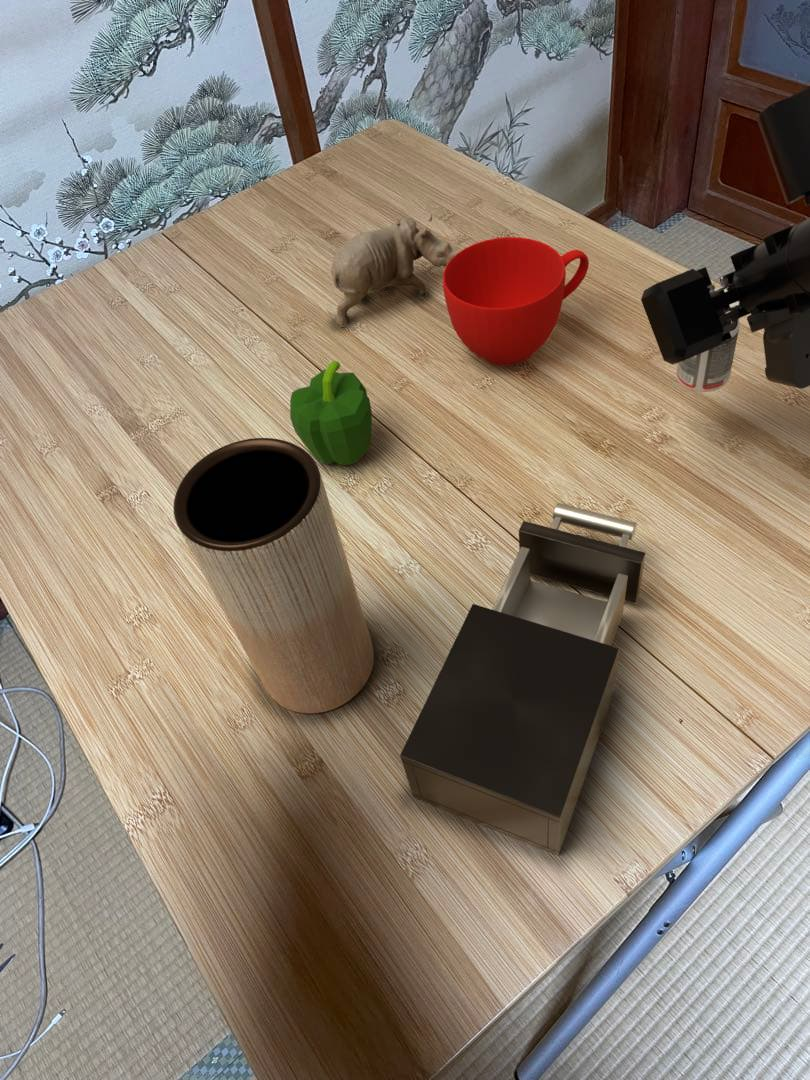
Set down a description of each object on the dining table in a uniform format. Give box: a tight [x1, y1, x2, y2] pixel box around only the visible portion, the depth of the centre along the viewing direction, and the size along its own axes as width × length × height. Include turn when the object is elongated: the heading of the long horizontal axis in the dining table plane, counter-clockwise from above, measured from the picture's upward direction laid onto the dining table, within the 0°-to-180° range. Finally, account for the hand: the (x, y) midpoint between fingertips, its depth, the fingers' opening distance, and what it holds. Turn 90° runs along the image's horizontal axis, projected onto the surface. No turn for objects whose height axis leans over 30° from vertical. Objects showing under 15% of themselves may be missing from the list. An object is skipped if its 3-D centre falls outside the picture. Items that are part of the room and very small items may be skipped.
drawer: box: [492, 502, 646, 646], centre depth 69 cm, size 17×10×6 cm, turn 155°
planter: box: [172, 437, 375, 714], centre depth 64 cm, size 10×10×23 cm
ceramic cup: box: [442, 236, 590, 367], centre depth 92 cm, size 13×17×10 cm
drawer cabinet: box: [399, 603, 620, 856], centre depth 63 cm, size 14×12×8 cm
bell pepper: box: [289, 360, 373, 466], centre depth 85 cm, size 8×8×10 cm
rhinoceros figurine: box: [330, 214, 461, 328], centre depth 101 cm, size 8×14×15 cm
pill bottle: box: [676, 287, 741, 393], centre depth 75 cm, size 5×5×8 cm
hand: (702, 311), depth 74 cm, fingers closed on pill bottle, 4 cm apart
